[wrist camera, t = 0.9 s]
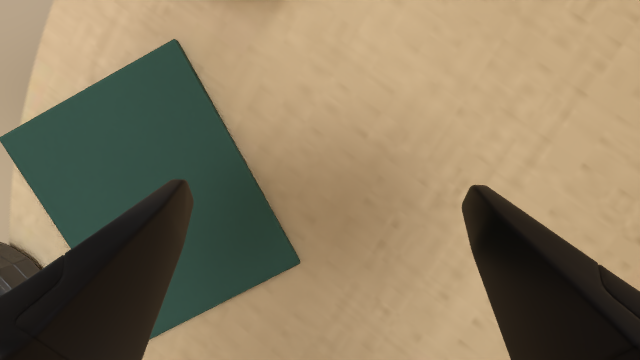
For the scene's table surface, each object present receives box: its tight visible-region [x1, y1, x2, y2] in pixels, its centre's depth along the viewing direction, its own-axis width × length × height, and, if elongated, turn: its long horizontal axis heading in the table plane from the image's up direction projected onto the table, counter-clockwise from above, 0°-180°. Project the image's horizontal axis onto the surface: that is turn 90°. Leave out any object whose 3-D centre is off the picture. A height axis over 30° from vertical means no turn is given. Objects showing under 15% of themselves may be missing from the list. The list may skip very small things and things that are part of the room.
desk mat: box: [0, 39, 300, 339], centre depth 24 cm, size 20×16×1 cm
